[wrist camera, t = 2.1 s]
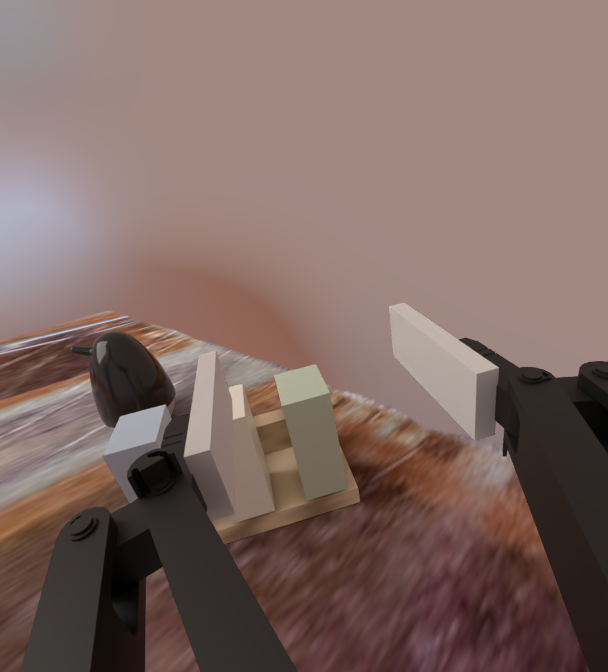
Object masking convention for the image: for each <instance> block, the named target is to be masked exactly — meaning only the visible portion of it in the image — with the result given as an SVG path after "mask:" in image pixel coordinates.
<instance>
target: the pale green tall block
mask: <svg viewBox="0 0 608 672" xmlns="http://www.w3.org/2000/svg"><path fill="white" fill-rule="evenodd" d="M274 376H275V380H276V385H277V389H278V393H279V397H280V401H281V405H282V409H283V413H284V416H285V420H286V424H287V428H288V432H289V435H290V439H291V443H292V447H293V451H294V455H295V458H296V462H297V466H298V470H299V474H300V477H301V481H302V485H303V489H304V493H305V497H306V500H307V501H308V500H311V499H314V498H318V497H321V496H324V495H327V494H331V493H334V492H337V491H340V490H344V489H347V483H346V477H345V472H344V467H343V461H342V456H341V450H340V445H339V440H338V434H337V429H336V424H335V418H334V413H333V407H332V402H331V397H330V392H329V390H328V388H327V386H326V384H325V382H324V380H323V378H322V376H321V374H320V372H319V370H318V368H317V366H316V364H315V365H311V366H307V367H303V368H299V369H296V370H292V371H288V372H285V373H281V374H277V375H274Z"/></svg>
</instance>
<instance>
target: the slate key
mask: <svg viewBox="0 0 608 672" xmlns="http://www.w3.org/2000/svg"><path fill="white" fill-rule="evenodd" d="M171 420H172V418H171V415H170V413H169V411H168V409H167V406H166V404H165V405H161V406H157V407H154V408H150V409H146V410H142V411H139V412H135V413H131V414H127V415H124V416H120V418H119V420H118V422H117V425H116V427H115V429H114V431H113V434H112V436H111V438H110V440H109V442H108V445H107V447H106V449H105V451H104V454H103V458H104V459H105V461H106V463H107V465H108V466H109V468H110V470H111V472H112V473H113V475H114V477H115V479H116V480H117V482H118V484H119V485H120V487H121V489H122V491H123V492H124V494H125V496H126V498H127V499H128V501H129V503H131V502H133V501H135V500H136V499H137V498H138V497H137V496H136V494H135V492H134V490H133V488H132V487H131V485H130V483H129V481H128V479H127V472H128V470H129V468H130V466H131V465H132V464H133V462H134V461H135V460H136V459H137V458H139V457H140V456H142V455H143V454H145V453H147V452H149V451H151V450H154V449H158V448H161V443H162V440H163V435H164V431H165V428H166V427H167V425H168V424H169V423H170V421H171Z"/></svg>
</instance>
